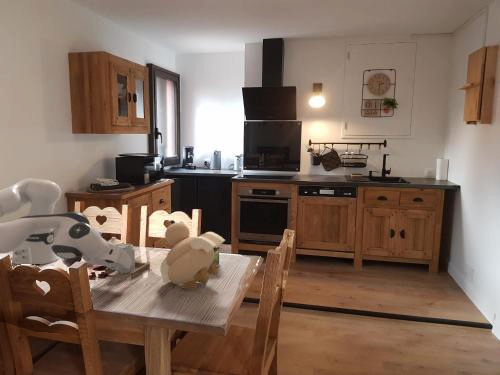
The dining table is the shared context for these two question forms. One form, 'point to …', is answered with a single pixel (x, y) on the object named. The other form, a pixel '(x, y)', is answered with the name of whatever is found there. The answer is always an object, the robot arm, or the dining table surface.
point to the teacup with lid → (115, 241)
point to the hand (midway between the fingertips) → (115, 268)
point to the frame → (141, 268)
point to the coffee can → (216, 251)
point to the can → (131, 253)
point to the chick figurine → (189, 256)
